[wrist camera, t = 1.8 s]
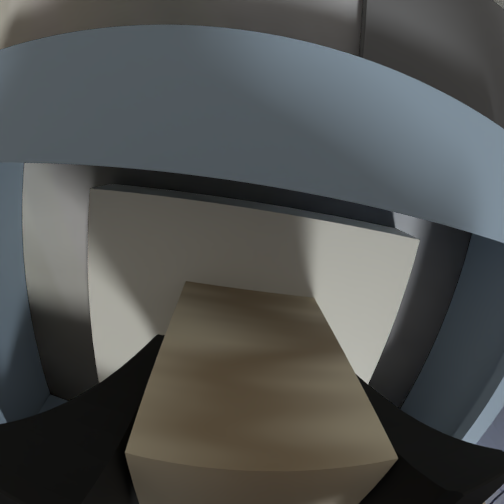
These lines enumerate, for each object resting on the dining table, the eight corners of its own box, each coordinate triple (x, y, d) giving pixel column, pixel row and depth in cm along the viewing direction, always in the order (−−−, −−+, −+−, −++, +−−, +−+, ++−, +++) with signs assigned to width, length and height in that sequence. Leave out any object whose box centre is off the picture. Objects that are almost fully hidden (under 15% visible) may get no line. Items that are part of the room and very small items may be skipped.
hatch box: (494, 176, 12) (581, 195, 6) (392, 437, 16) (422, 500, 11) (20, 94, 9) (-70, 79, 4) (41, 400, 14) (4, 462, 8)
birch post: (314, 297, 11) (398, 458, 4) (286, 391, 12) (318, 539, 5) (185, 280, 10) (124, 452, 3) (179, 380, 11) (150, 534, 5)
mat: (500, 11, 8) (504, 10, 8) (507, 148, 11) (513, 148, 11) (364, -66, 7) (367, -71, 7) (356, 75, 10) (361, 72, 10)
